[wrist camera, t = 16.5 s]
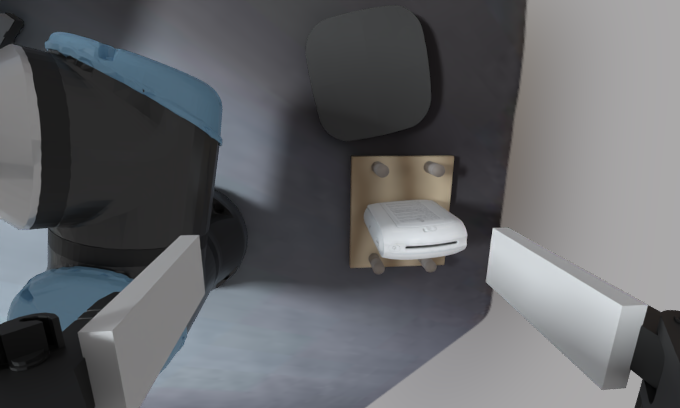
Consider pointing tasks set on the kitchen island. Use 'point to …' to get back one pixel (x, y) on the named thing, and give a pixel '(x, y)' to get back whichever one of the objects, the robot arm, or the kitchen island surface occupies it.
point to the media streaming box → (369, 72)
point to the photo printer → (414, 229)
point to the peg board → (394, 199)
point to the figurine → (9, 28)
